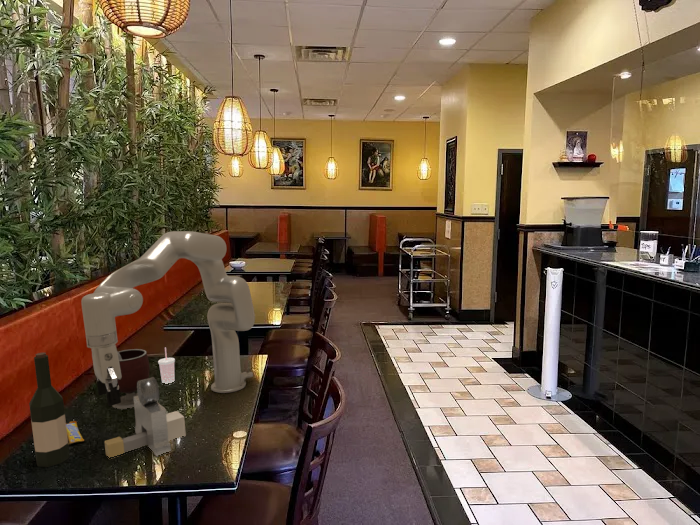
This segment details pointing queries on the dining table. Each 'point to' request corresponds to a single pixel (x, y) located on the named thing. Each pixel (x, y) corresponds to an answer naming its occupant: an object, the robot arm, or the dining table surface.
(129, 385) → the mate gourd
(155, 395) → the bulkhead
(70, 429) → the candy bar
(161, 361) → the beverage cup
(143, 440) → the plug
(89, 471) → the dining table surface
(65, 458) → the wine bottle
